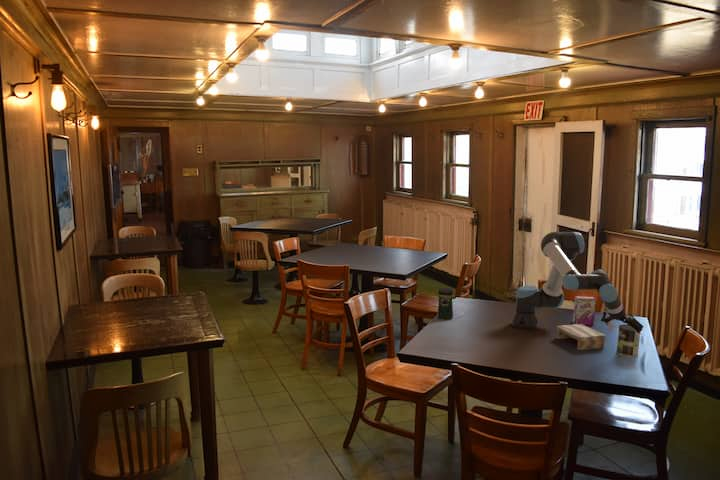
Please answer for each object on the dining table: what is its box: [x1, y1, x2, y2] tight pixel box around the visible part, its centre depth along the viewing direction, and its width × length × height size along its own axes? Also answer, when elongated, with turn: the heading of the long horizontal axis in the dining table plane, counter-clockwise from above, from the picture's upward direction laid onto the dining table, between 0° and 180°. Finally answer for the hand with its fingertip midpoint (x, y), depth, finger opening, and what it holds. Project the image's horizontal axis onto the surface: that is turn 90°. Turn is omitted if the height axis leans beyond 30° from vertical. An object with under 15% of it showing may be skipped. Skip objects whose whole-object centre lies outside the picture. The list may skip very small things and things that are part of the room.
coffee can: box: [616, 323, 641, 358], centre depth 298 cm, size 10×10×14 cm
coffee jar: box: [436, 287, 455, 320], centre depth 355 cm, size 10×8×19 cm
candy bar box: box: [572, 295, 597, 326], centre depth 347 cm, size 11×5×16 cm, turn 84°
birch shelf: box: [556, 323, 606, 351], centre depth 314 cm, size 16×20×7 cm
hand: (625, 331), depth 292 cm, fingers open, 13 cm apart
